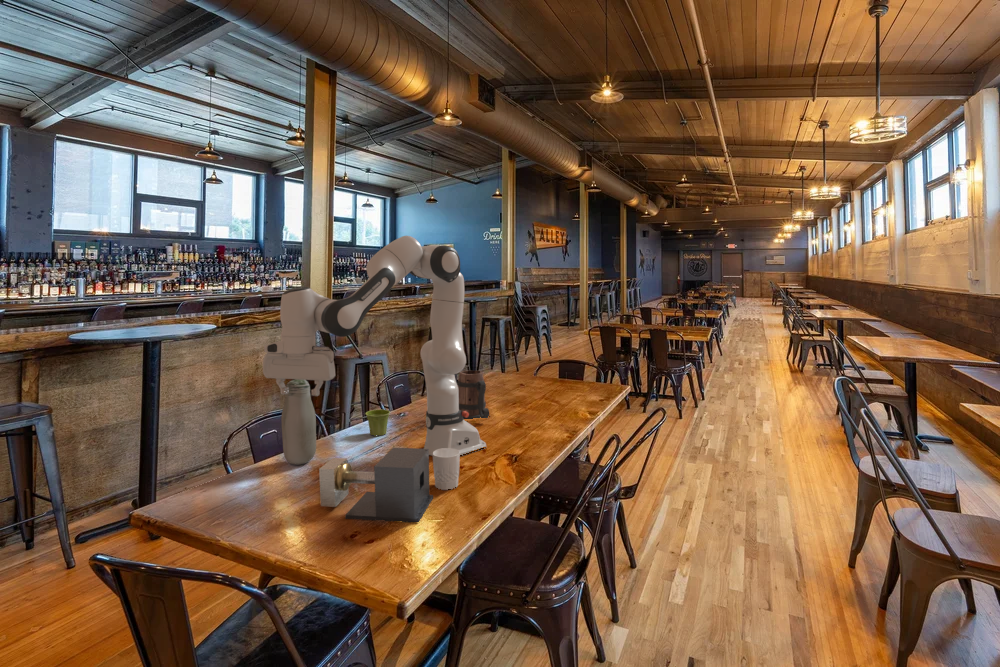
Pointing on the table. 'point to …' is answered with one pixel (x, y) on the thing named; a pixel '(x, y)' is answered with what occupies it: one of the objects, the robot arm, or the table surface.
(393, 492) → the bearing block
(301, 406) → the glass bottle
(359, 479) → the shaft
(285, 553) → the table surface
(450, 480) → the white cup
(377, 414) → the plant pot
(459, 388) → the tankard
